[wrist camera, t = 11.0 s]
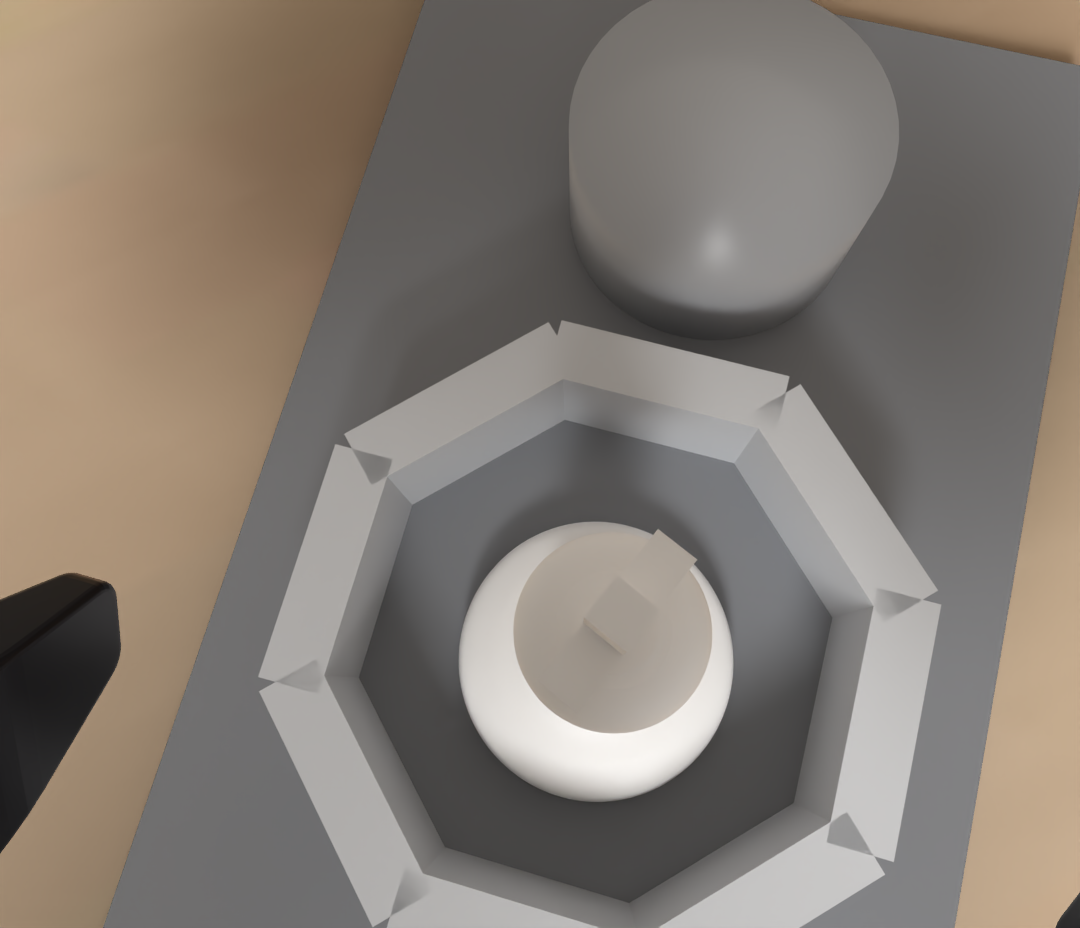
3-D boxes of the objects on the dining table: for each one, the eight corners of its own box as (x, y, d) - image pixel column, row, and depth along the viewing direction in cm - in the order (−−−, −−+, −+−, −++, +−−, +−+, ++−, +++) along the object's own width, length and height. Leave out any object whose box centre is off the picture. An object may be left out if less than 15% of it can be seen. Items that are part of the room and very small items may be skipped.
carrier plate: (854, 1367, 16) (944, 1589, 12) (66, 1098, 17) (-84, 1218, 13) (1075, 98, 21) (1189, -38, 17) (453, -34, 22) (427, -188, 18)
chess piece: (787, 637, 18) (1054, 567, 8) (618, 862, 17) (680, 1097, 7) (573, 471, 18) (573, 220, 9) (403, 678, 18) (192, 659, 8)
